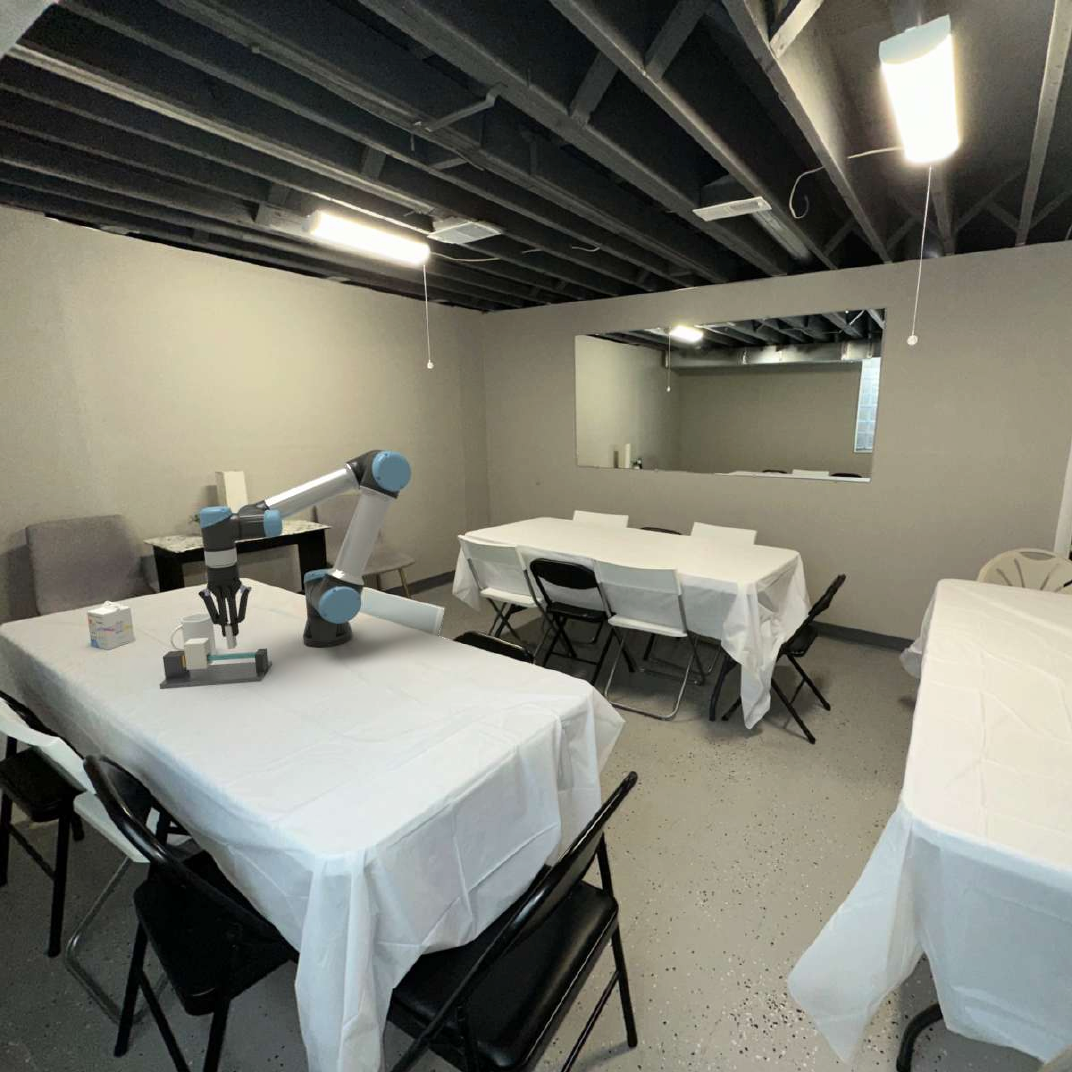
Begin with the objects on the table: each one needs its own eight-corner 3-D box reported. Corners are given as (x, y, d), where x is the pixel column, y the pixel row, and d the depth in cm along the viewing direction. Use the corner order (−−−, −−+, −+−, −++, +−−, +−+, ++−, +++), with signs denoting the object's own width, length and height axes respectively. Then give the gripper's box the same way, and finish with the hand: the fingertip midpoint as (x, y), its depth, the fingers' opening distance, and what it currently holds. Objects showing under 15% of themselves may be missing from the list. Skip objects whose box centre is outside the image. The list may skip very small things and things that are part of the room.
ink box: (90, 646, 179) (84, 605, 177) (118, 637, 187) (112, 598, 184) (108, 650, 176) (102, 609, 173) (135, 641, 184) (130, 601, 181)
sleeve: (212, 662, 159) (209, 637, 157) (206, 668, 155) (203, 643, 153) (193, 663, 158) (190, 638, 156) (186, 669, 154) (183, 644, 152)
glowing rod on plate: (272, 664, 165) (269, 640, 164) (260, 681, 154) (258, 655, 153) (178, 671, 161) (175, 646, 159) (160, 688, 150) (156, 662, 149)
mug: (176, 666, 164) (171, 627, 162) (168, 658, 170) (163, 620, 168) (221, 655, 172) (216, 617, 170) (212, 647, 178) (207, 610, 176)
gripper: (252, 559, 157) (261, 640, 162) (201, 562, 155) (212, 643, 160) (243, 566, 150) (253, 650, 155) (189, 569, 148) (201, 654, 152)
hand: (232, 646), depth 157 cm, fingers closed
